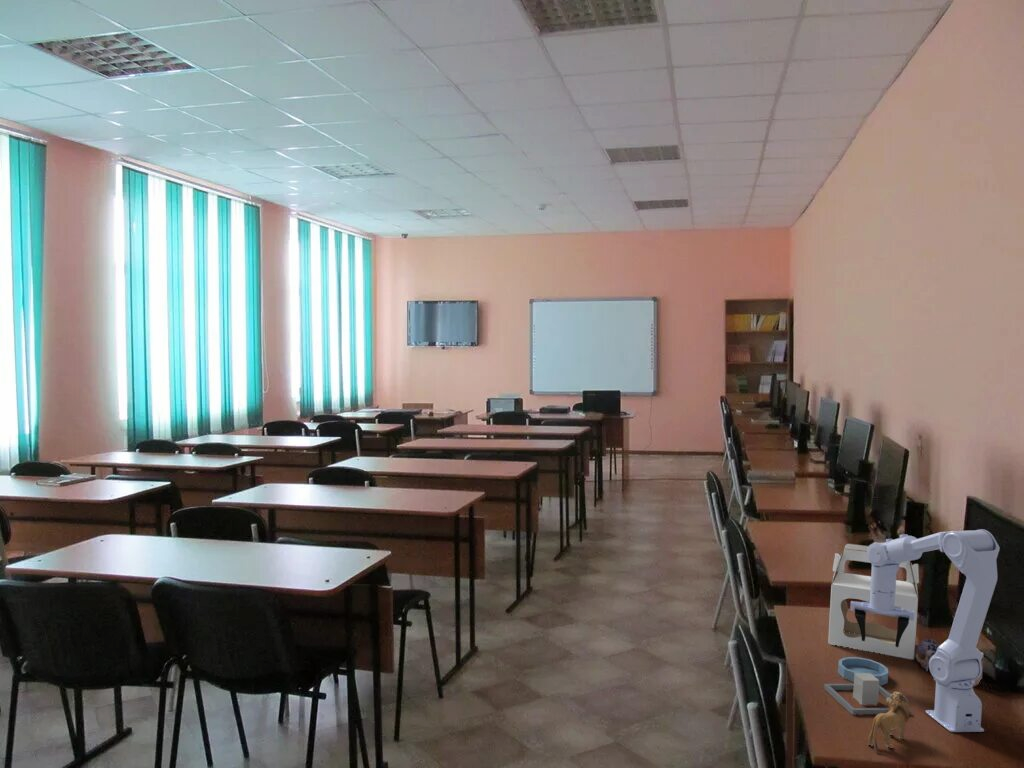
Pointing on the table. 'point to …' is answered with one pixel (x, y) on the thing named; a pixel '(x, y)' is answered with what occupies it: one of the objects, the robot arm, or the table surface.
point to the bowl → (862, 668)
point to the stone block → (866, 688)
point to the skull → (926, 652)
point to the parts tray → (831, 690)
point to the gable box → (859, 588)
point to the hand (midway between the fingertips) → (880, 642)
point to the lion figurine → (891, 719)
